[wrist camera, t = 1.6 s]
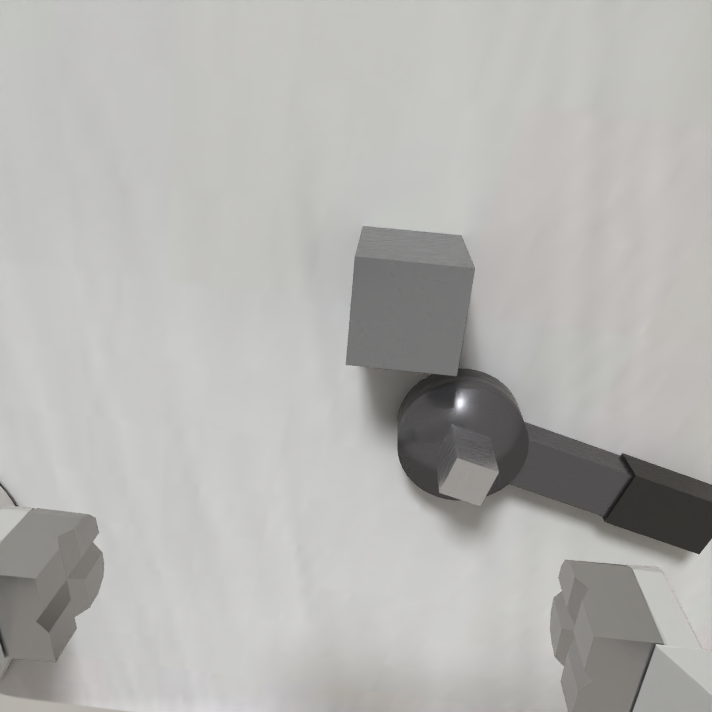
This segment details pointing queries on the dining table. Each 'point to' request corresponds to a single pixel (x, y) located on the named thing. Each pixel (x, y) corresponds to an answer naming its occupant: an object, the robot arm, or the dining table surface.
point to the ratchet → (538, 462)
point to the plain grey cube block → (409, 301)
